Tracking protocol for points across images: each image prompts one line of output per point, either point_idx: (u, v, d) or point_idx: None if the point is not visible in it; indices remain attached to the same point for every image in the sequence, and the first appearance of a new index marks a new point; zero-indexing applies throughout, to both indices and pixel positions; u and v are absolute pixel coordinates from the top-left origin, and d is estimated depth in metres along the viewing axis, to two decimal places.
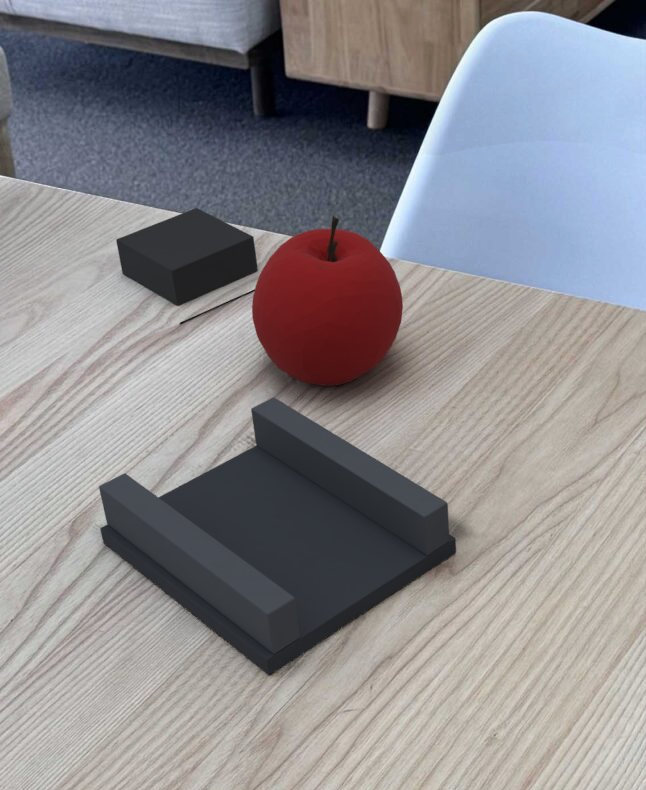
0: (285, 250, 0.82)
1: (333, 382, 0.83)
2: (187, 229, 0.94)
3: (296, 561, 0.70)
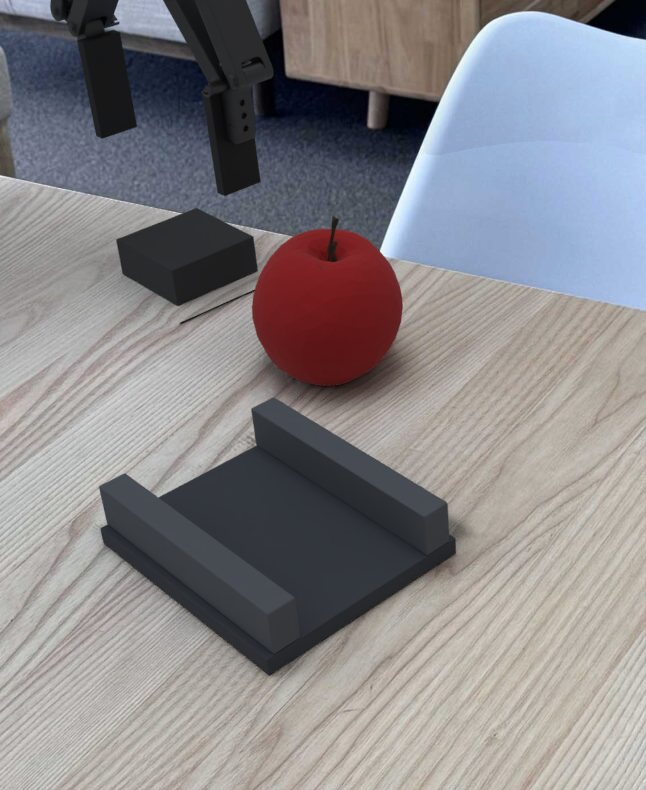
0: (285, 250, 0.82)
1: (333, 382, 0.83)
2: (187, 229, 0.94)
3: (296, 561, 0.70)
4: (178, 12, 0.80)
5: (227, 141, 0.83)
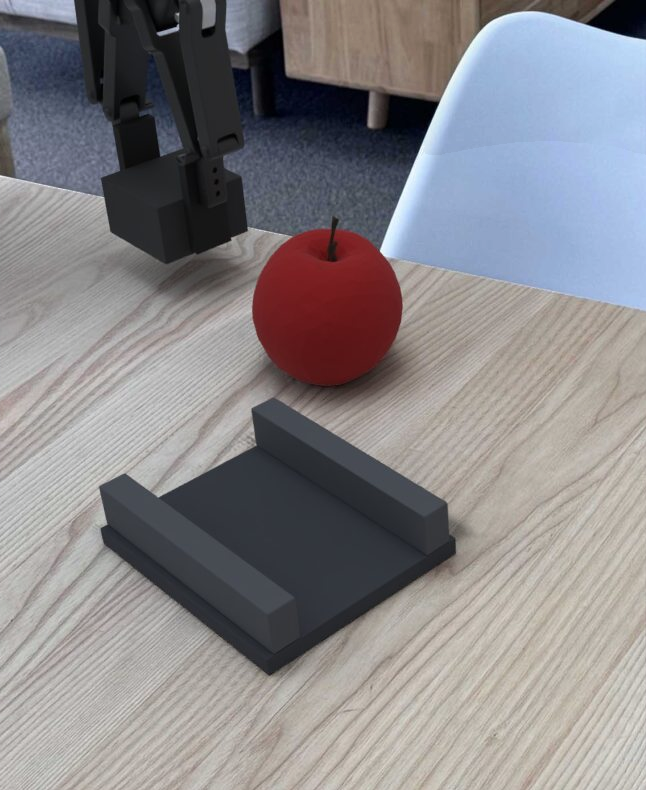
0: (285, 250, 0.82)
1: (333, 382, 0.83)
2: (173, 168, 0.92)
3: (296, 561, 0.70)
4: (168, 79, 0.84)
5: (199, 204, 0.88)
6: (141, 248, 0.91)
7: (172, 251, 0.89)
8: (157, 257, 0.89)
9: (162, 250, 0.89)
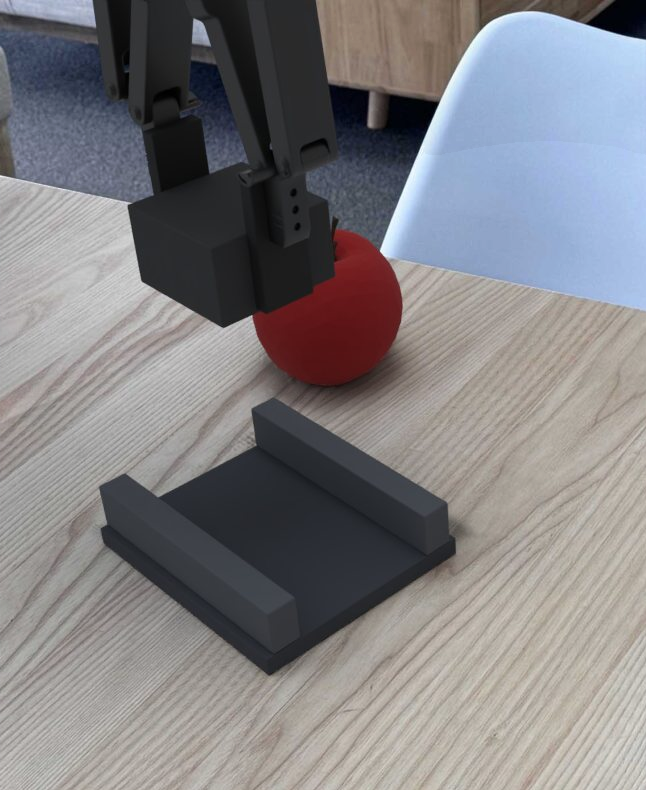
0: None
1: (333, 382, 0.83)
2: (230, 190, 0.65)
3: (296, 561, 0.70)
4: (226, 60, 0.57)
5: (271, 242, 0.61)
6: (186, 304, 0.63)
7: (232, 309, 0.62)
8: (210, 318, 0.62)
9: (217, 308, 0.61)
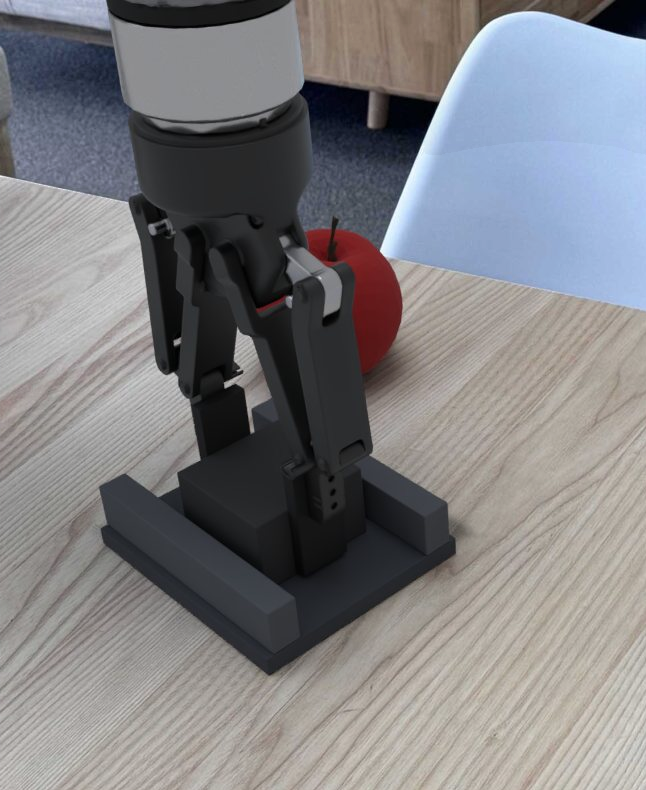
0: None
1: None
2: (270, 455, 0.70)
3: None
4: (272, 371, 0.62)
5: (309, 516, 0.67)
6: None
7: (274, 575, 0.68)
8: None
9: None
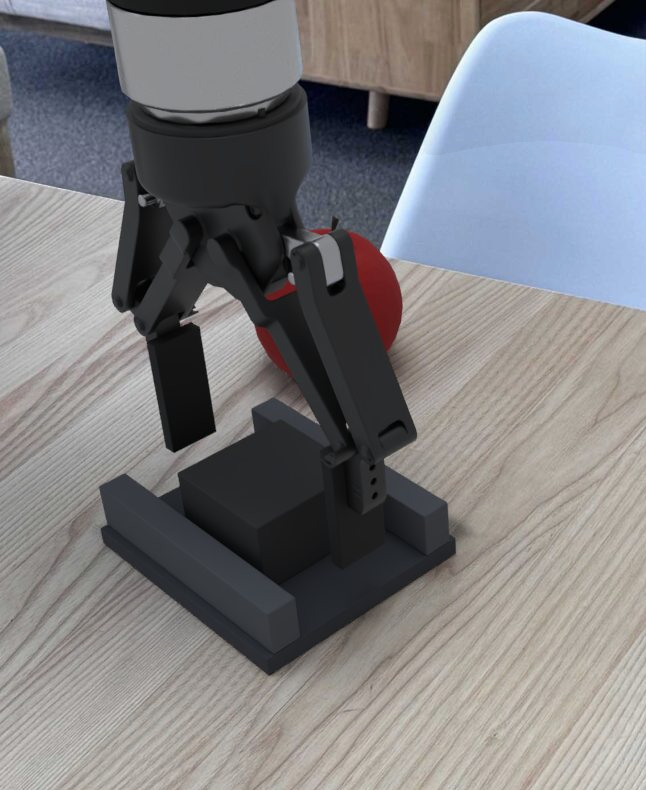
0: None
1: None
2: (271, 455, 0.70)
3: None
4: (292, 356, 0.61)
5: (348, 506, 0.64)
6: None
7: (274, 575, 0.68)
8: None
9: None
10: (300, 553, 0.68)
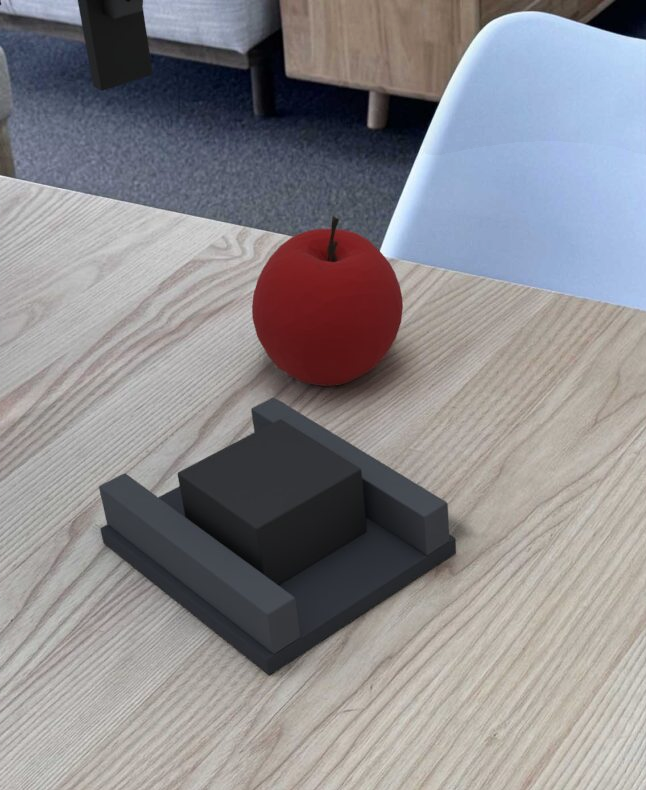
0: (285, 250, 0.82)
1: (333, 382, 0.83)
2: (271, 455, 0.70)
3: None
4: None
5: (103, 14, 0.61)
6: None
7: (274, 575, 0.68)
8: None
9: None
10: (300, 553, 0.68)
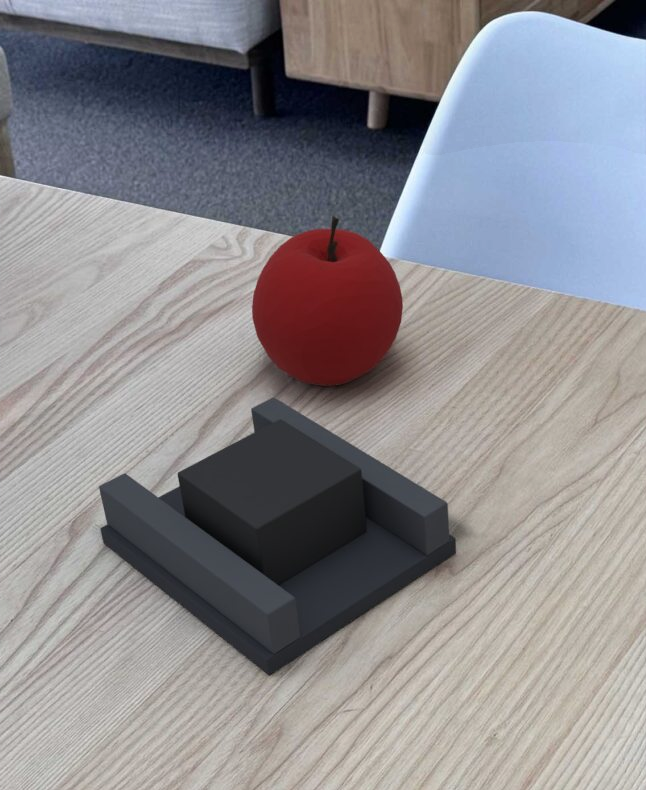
0: (285, 250, 0.82)
1: (333, 382, 0.83)
2: (271, 455, 0.70)
3: None
4: None
5: None
6: None
7: (274, 575, 0.68)
8: None
9: None
10: (300, 553, 0.68)
